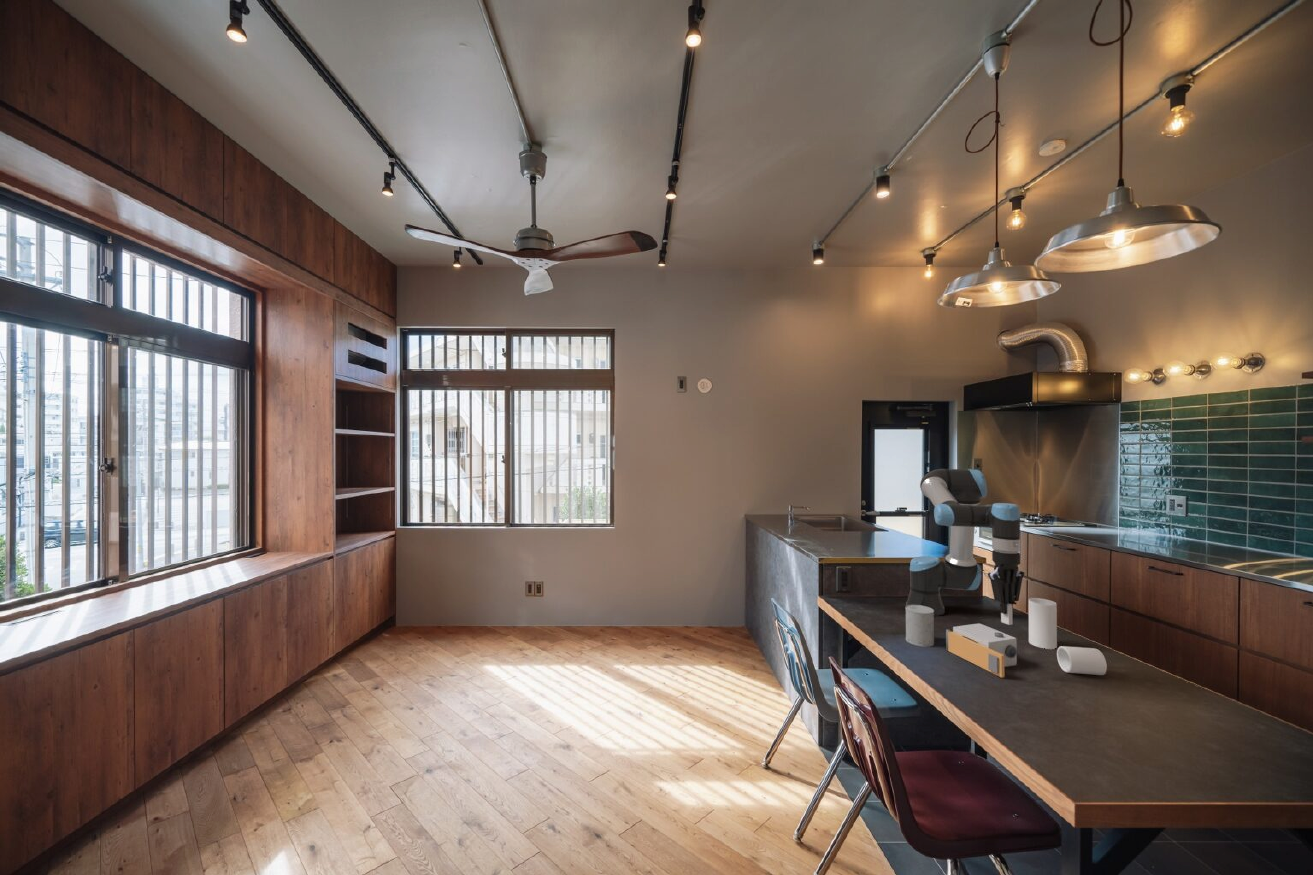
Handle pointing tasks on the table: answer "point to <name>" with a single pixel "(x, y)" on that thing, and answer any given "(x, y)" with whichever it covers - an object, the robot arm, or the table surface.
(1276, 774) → the table surface
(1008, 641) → the knobbed white cabinet
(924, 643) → the grey mottled cylinder
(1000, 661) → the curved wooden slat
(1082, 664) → the mug
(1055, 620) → the cup
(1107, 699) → the table surface
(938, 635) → the table surface
